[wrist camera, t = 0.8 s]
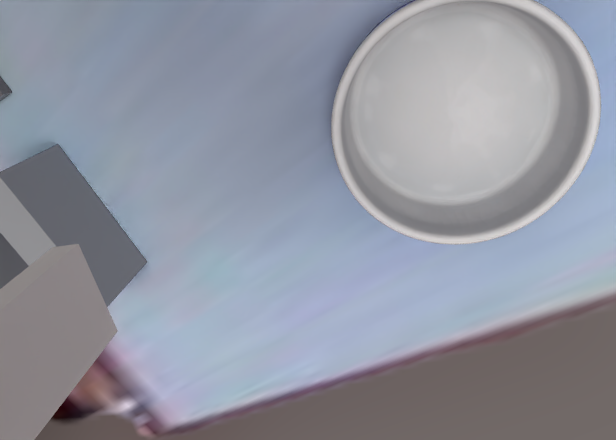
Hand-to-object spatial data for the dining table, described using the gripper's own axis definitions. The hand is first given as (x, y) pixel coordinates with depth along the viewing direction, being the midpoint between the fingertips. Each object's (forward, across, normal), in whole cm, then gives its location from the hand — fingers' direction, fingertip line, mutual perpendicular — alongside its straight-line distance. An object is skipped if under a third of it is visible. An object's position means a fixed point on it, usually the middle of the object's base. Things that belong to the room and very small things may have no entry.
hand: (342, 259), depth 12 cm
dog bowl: (+26, +5, -3) cm, 27 cm away
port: (+26, -29, -8) cm, 40 cm away
